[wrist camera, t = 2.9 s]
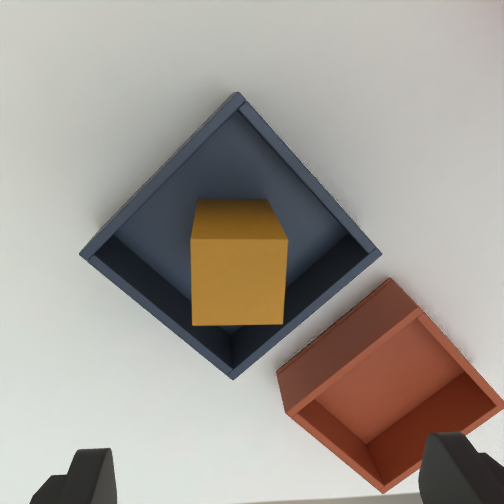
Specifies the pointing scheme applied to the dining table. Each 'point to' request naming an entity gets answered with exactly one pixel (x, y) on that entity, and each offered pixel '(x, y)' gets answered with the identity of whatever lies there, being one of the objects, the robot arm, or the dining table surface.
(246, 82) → the dining table surface
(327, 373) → the terracotta bin
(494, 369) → the dining table surface
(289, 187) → the slate bin
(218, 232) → the mustard box
